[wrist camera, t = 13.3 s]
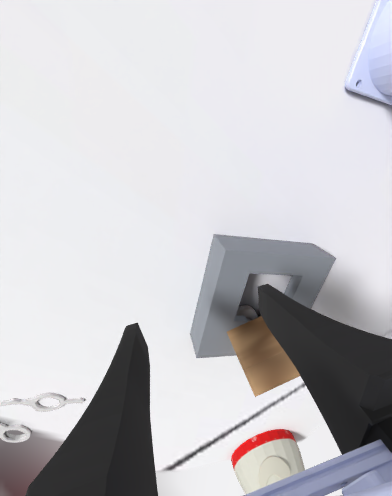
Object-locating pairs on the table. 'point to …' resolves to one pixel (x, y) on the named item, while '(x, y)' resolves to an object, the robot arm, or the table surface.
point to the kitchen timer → (266, 459)
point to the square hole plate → (235, 278)
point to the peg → (260, 353)
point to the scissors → (3, 425)
